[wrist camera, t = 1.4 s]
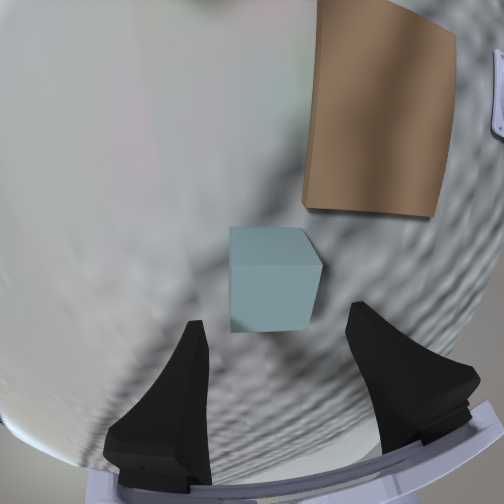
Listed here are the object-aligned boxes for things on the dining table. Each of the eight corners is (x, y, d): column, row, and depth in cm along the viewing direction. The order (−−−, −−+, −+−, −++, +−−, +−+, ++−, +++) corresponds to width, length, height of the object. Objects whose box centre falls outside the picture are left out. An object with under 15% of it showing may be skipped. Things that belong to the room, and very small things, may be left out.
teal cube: (301, 227, 18) (322, 265, 14) (292, 285, 20) (307, 329, 16) (229, 226, 17) (231, 265, 13) (228, 285, 19) (230, 332, 15)
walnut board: (446, 36, 11) (455, 35, 10) (425, 211, 18) (433, 217, 17) (317, -14, 10) (323, -20, 9) (301, 201, 17) (305, 207, 16)
